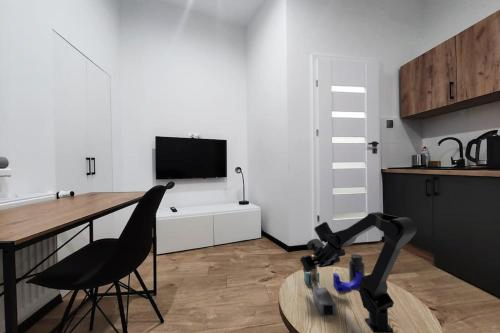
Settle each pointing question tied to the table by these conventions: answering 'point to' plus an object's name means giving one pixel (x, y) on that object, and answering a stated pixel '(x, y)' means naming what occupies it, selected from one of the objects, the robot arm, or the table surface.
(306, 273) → the teal block with slot
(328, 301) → the gray rectangular tube
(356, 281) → the cable clip
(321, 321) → the table surface
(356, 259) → the supplement bottle
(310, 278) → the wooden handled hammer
